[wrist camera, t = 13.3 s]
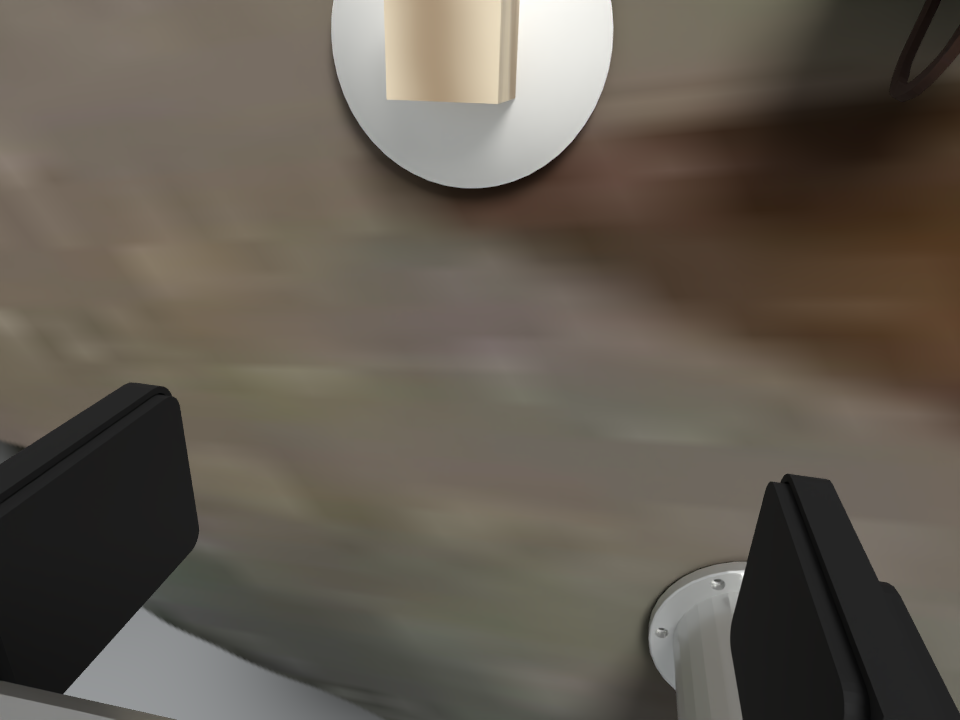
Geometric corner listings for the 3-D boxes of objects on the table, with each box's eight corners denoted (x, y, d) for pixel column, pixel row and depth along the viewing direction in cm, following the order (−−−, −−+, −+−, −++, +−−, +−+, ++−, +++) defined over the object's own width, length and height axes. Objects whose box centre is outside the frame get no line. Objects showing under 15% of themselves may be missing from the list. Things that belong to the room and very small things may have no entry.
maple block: (520, -17, 32) (502, -30, 27) (515, 98, 34) (497, 104, 29) (416, -18, 32) (383, -31, 28) (418, 94, 35) (386, 99, 30)
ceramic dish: (631, -125, 30) (631, -131, 29) (596, 194, 36) (595, 198, 35) (334, -125, 32) (323, -132, 31) (345, 174, 38) (337, 178, 37)
